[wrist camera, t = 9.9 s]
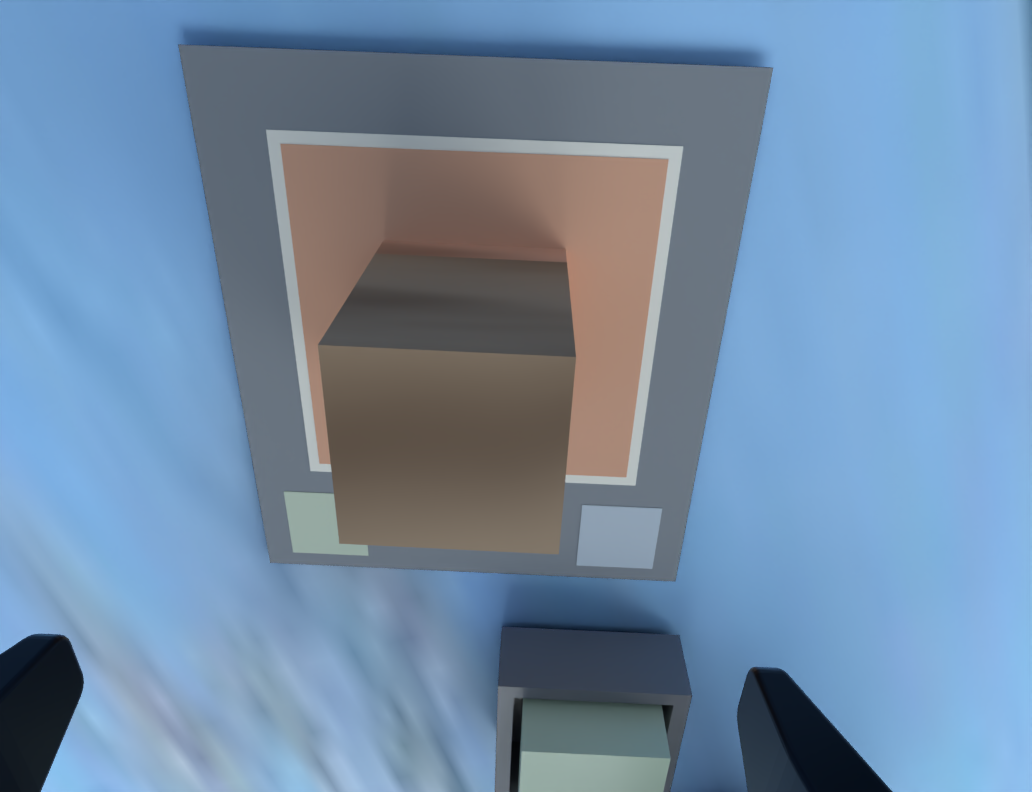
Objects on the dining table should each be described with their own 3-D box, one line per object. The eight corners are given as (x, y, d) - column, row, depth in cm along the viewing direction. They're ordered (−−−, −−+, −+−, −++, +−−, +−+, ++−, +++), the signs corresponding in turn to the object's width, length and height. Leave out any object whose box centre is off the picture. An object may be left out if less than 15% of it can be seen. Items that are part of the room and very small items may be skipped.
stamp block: (554, 406, 20) (559, 554, 15) (391, 399, 20) (339, 543, 15) (565, 248, 18) (575, 357, 13) (383, 240, 18) (317, 344, 13)
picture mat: (771, 67, 16) (773, 67, 16) (674, 579, 23) (675, 582, 23) (179, 44, 16) (177, 44, 16) (271, 560, 23) (270, 563, 23)
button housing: (679, 634, 24) (692, 695, 22) (656, 746, 27) (665, 809, 25) (501, 626, 24) (498, 686, 22) (498, 739, 27) (494, 801, 25)
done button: (661, 700, 23) (670, 758, 21) (644, 783, 25) (651, 842, 23) (523, 693, 23) (521, 751, 21) (518, 777, 25) (516, 835, 23)
